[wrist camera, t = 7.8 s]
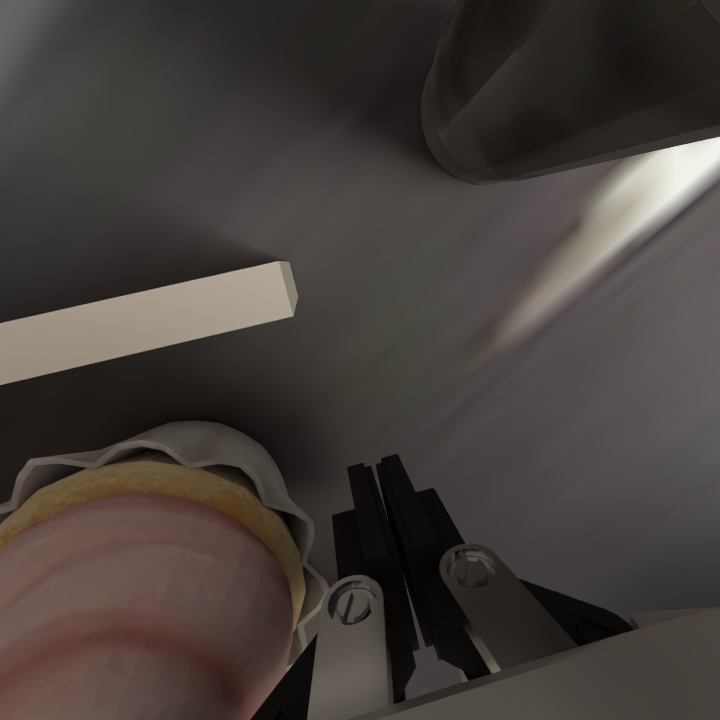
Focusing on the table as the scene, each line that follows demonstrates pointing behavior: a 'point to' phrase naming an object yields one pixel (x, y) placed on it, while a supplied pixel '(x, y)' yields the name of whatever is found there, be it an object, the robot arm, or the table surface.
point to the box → (148, 326)
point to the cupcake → (153, 580)
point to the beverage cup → (569, 84)
